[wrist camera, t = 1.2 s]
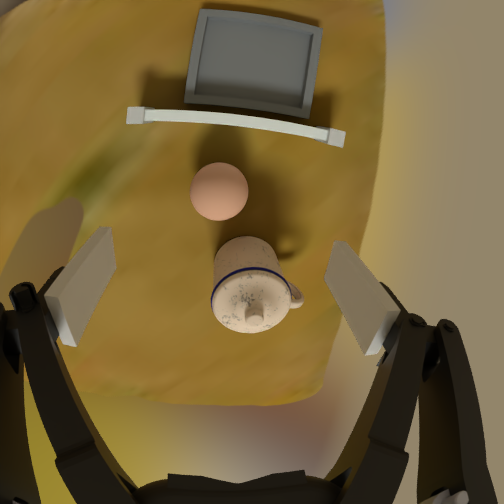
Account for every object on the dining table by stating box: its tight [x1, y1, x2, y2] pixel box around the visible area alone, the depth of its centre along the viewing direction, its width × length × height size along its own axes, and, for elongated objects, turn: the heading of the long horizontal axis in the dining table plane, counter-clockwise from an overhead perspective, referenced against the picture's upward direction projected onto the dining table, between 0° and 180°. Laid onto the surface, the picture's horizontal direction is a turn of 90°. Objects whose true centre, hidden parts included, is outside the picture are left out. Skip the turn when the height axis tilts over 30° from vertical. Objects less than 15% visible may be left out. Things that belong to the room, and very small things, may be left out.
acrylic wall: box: [126, 107, 346, 148], centre depth 27 cm, size 23×2×5 cm, turn 82°
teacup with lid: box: [211, 236, 304, 333], centre depth 33 cm, size 12×9×12 cm
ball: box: [190, 163, 248, 221], centre depth 29 cm, size 6×6×6 cm
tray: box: [184, 9, 323, 119], centre depth 25 cm, size 14×12×2 cm
